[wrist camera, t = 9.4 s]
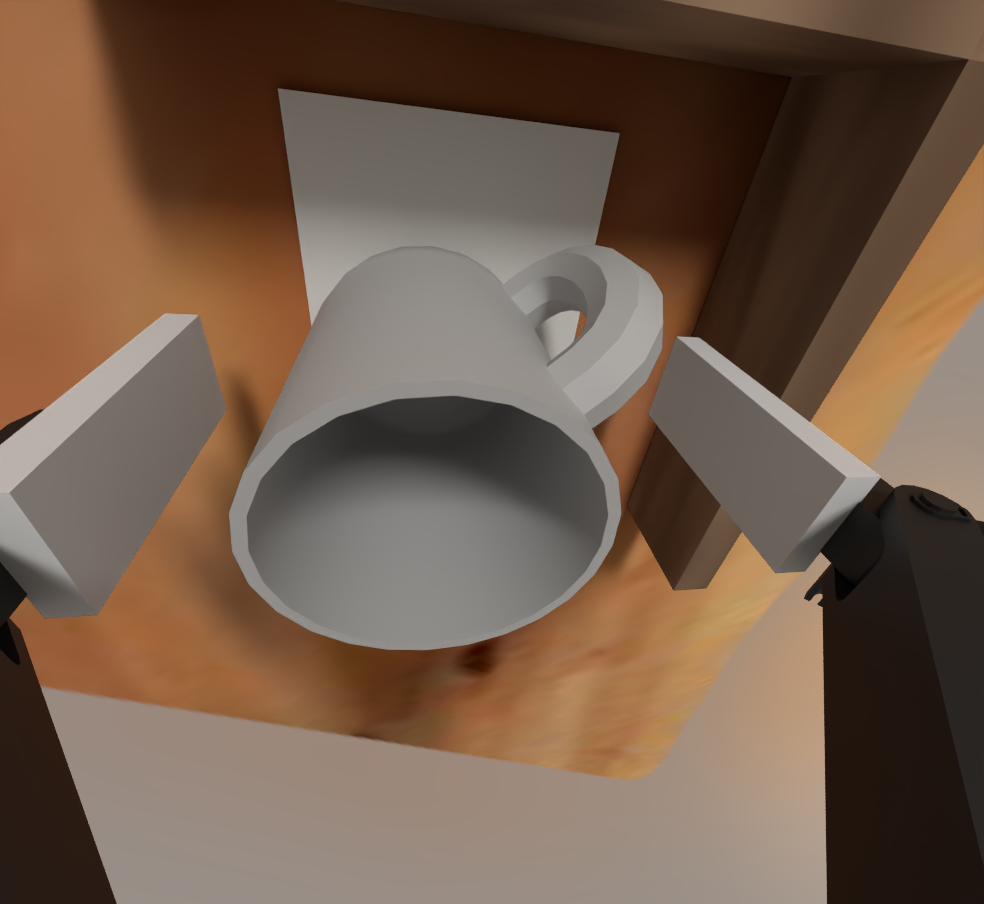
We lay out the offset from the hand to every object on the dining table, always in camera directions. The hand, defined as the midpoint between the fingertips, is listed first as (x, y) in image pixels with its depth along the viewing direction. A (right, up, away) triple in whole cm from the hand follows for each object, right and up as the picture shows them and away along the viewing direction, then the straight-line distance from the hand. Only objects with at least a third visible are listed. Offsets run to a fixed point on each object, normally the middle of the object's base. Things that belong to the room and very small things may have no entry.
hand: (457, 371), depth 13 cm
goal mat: (0, +2, +2) cm, 3 cm away
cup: (0, +2, +2) cm, 3 cm away
